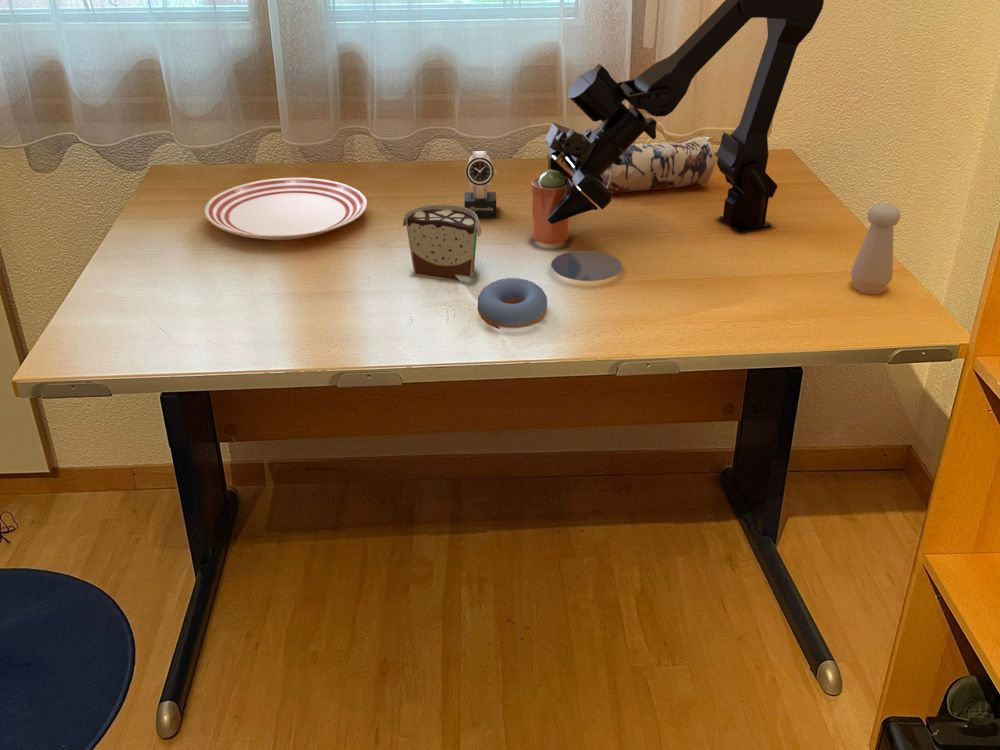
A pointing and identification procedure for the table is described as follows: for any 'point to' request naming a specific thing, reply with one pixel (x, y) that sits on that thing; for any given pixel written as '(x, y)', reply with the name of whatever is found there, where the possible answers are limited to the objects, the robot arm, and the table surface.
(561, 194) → the plant pot
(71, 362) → the table surface
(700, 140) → the pencil case
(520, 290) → the doughnut
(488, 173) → the watch
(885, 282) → the salt shaker
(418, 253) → the food container
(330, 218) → the dinner plate
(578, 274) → the saucer
